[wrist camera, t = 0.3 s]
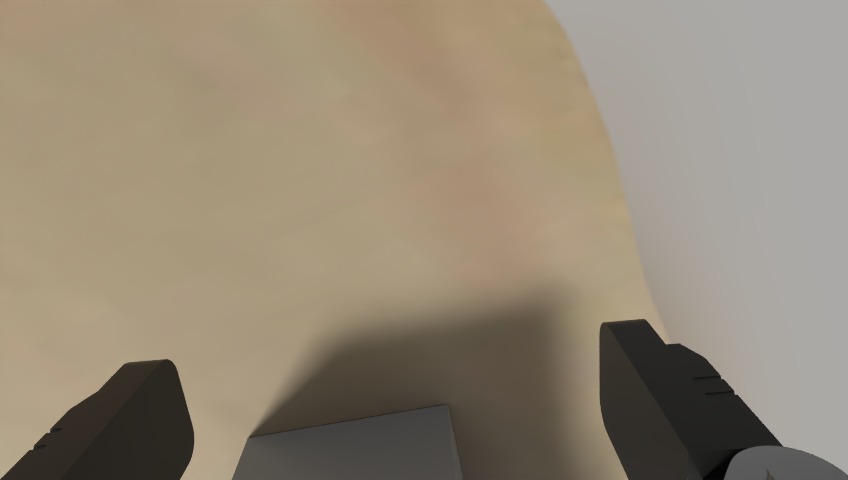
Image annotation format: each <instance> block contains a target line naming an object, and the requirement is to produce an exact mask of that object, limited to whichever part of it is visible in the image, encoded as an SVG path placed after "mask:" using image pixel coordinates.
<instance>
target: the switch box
mask: <svg viewBox="0 0 848 480" xmlns="http://www.w3.org/2000/svg"><path fill="white" fill-rule="evenodd" d="M232 480H464V479H463V474H462V469H461V465H460V460H459V455H458V450H457V446H456V441H455V436H454V431H453V427H452V422H451V417H450V412H449V408H448V404H445V405H440V406H434V407H428V408H422V409H416V410H410V411H404V412H398V413H392V414H387V415H381V416H375V417H369V418H363V419H357V420H351V421H345V422H340V423H334V424H328V425H322V426H316V427H310V428H304V429H298V430H292V431H287V432H281V433H275V434H269V435H263V436H257V437H251V438H248V439H247V442H246V444H245V447H244V450H243V452H242V455H241V457H240V460H239V462H238V465H237V468H236V470H235V473H234V475H233V478H232Z"/></svg>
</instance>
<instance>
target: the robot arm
mask: <svg viewBox="0 0 848 480" xmlns="http://www.w3.org/2000/svg"><path fill="white" fill-rule="evenodd" d="M599 339H600V406H601V412H602V417H603V422H604V425H605V428H606V431H607V433H608V436H609V438H610V440H611V442H612V444H613V446H614V449H615V451H616V453H617V455H618V457H619V459H620V462H621V464H622V466H623V468H624V470H625V473H626V475H627V477H628V479H629V480H848V475H847V474H846V473H844V472H843V471H842V470H841V469H839V468H838V467H836V466H834V465H833V464H831V463H829V462H827V461H825V460H824V459H822V458H819V457H817V456H815V455H813V454H809V453H806V452H804V451H801V450H796V449H793V448H788V447H783V446H782V444H781V443H780V442H779V441H778V440H777V439H776V438H775V437H774V435H773V434H772V433H771V432H770V431H769V430H768V429H767V428H766V426H765V425H764V424H763V423H762V422H761V421H760V420H759V419H758V417H757V416H756V415H755V414H754V413H753V412H752V411H751V410H750V408H749V407H748V406H747V405H746V404H745V403H744V402H743V400H742V399H741V398H740V397H739V396H738V395H735V394H734V390H733V389H732V388H731V387H730V386H729V385H728V383H727V382H726V381H725V380H724V379H721V376H720V375H719V373H718V372H717V371H716V370H715V369H714V368H713V366H712V365H711V364H710V363H709V362H708V361H707V360H706V359H705V358H704V357H703V356H701V355H699V354H697V353H695V352H694V351H692V350H690V349H688V348H687V347H685V346H683V345H681V344H667V345H666V344H665V343H664V342H663V340H662V339H661V338H660V337H659V335H658V334H657V333H656V332H655V330H654V329H653V328H652V327H651V325H650V324H649V323H648V322H647V321H646V320H645V319H638V320H627V321H615V322H604V323H602V324H601V327H600V337H599ZM193 448H194V431H193V426H192V422H191V419H190V415H189V411H188V408H187V404H186V401H185V397H184V393H183V390H182V386H181V382H180V379H179V375H178V372H177V369H176V367H175V365H174V363H173V362H172V361H170V360H168V359H164V360H152V361H140V362H129V363H126V364H124V365H123V366H122V367H121V368H120V369H119V370H118V371H117V372H116V373H115V374H114V375H113V376H112V377H111V378H110V379H109V380H108V381H107V382H106V383H105V384H104V385H103V387H102V388H101V389H100V390H99V391H98V392H96V393H94V394H93V395H91V396H90V397H88V398H87V399H85V400H84V401H82V402H80V403H79V404H77V405H76V406H74V407H73V408H71V409H70V410H69V411H68V412H67V413H66V414H65V415H64V416H63V417H62V418H61V419H60V420H59V421H58V422H57V423H56V424H55V425H54V426H53V427H52V428H51V429H50V433H46V434H45V435H44V436H43V437H42V438H41V439H40V440H39V441H38V442H37V443H36V444H35V445H34V449H33V450H29V451H28V452H27V453H26V454H25V455H24V456H23V457H22V458H21V459H20V460H19V461H18V462H17V463H16V464H15V465H14V466H13V467H12V468H11V469H10V470H9V471H8V472H7V473H6V474H5V475H4V476H3V477H2V478H1V479H0V480H180V478H181V477H182V475H183V473H184V471H185V470H186V468H187V466H188V464H189V462H190V460H191V457H192V454H193Z"/></svg>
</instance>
